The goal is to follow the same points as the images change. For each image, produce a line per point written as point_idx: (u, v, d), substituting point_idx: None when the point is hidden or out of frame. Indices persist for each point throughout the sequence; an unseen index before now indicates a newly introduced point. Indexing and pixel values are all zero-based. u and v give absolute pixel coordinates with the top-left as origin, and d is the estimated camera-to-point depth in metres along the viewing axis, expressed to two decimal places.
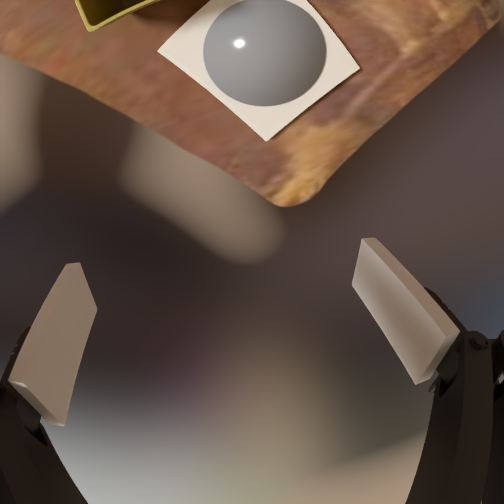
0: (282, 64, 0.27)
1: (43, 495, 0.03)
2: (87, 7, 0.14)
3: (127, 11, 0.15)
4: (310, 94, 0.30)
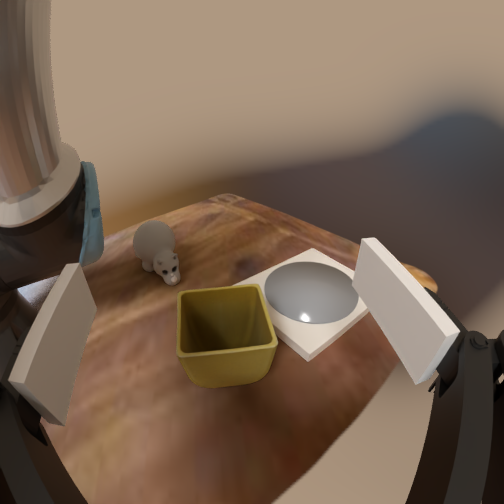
0: (321, 281, 0.42)
1: (43, 495, 0.03)
2: None
3: (268, 314, 0.26)
4: (341, 269, 0.45)
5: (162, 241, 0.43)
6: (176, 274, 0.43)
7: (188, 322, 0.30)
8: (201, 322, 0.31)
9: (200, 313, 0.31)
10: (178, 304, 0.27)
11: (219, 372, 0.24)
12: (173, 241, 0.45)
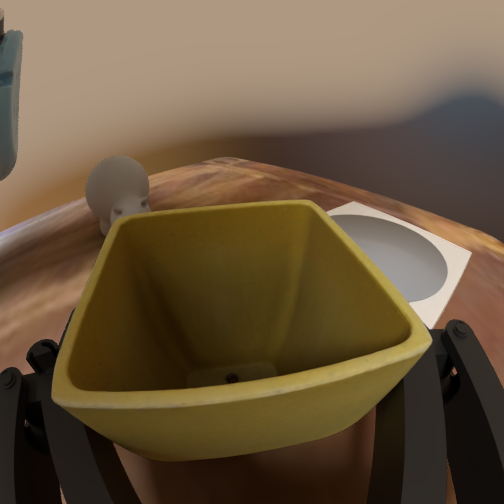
0: (384, 238, 0.24)
1: (95, 480, 0.04)
2: None
3: (364, 255, 0.09)
4: (404, 225, 0.28)
5: (126, 181, 0.25)
6: None
7: (143, 299, 0.12)
8: (175, 300, 0.13)
9: (171, 275, 0.13)
10: (107, 240, 0.09)
11: (220, 445, 0.06)
12: (145, 184, 0.27)
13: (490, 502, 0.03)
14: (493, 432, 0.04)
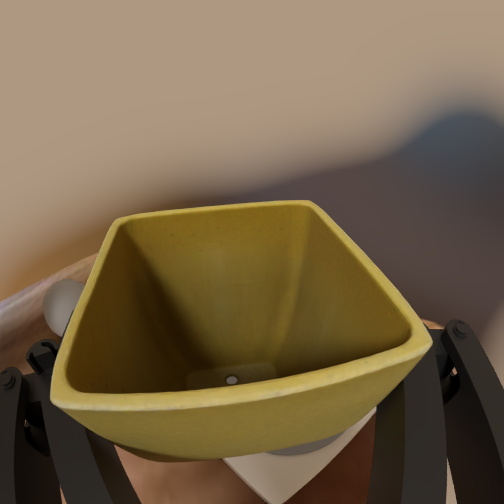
0: None
1: (95, 480, 0.04)
2: None
3: (364, 256, 0.08)
4: None
5: None
6: None
7: (142, 300, 0.12)
8: (174, 301, 0.13)
9: (170, 276, 0.13)
10: (106, 241, 0.09)
11: (220, 447, 0.06)
12: None
13: (490, 502, 0.03)
14: (493, 432, 0.04)
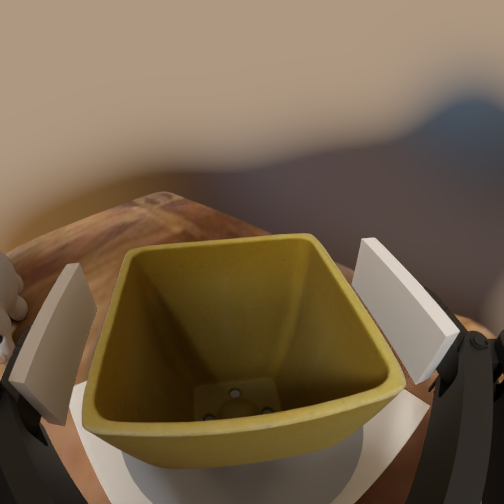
0: None
1: (43, 495, 0.03)
2: None
3: (355, 298, 0.09)
4: None
5: None
6: (2, 349, 0.15)
7: (154, 322, 0.13)
8: (183, 323, 0.14)
9: (179, 301, 0.14)
10: (120, 275, 0.10)
11: (222, 459, 0.07)
12: (3, 286, 0.17)
13: None
14: None
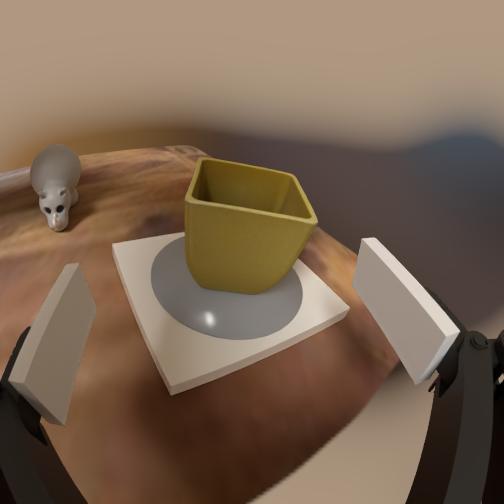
0: None
1: (43, 495, 0.03)
2: None
3: (305, 197, 0.21)
4: None
5: (57, 170, 0.26)
6: (60, 216, 0.26)
7: None
8: None
9: (216, 192, 0.25)
10: (197, 164, 0.22)
11: (229, 250, 0.19)
12: (73, 174, 0.28)
13: None
14: None
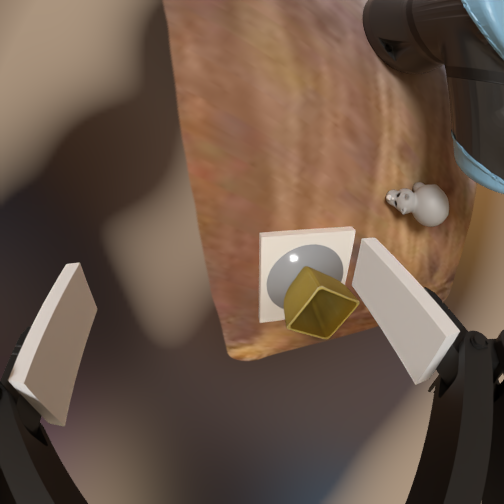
0: None
1: (43, 495, 0.03)
2: None
3: (305, 333, 0.43)
4: None
5: (421, 211, 0.40)
6: (391, 202, 0.43)
7: None
8: None
9: (343, 299, 0.44)
10: (351, 299, 0.40)
11: (300, 289, 0.42)
12: (417, 220, 0.42)
13: None
14: None
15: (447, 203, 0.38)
